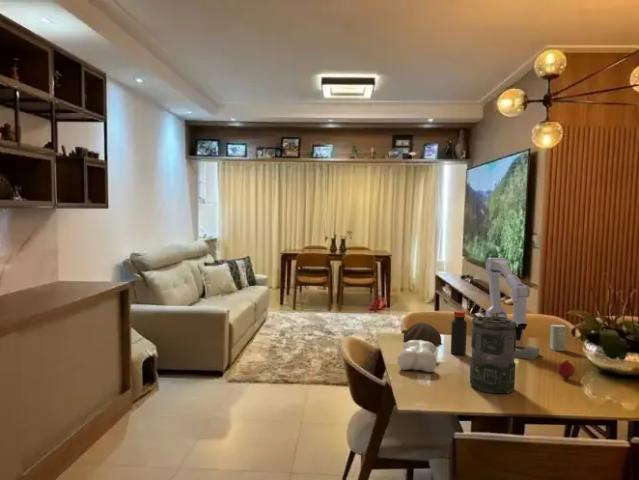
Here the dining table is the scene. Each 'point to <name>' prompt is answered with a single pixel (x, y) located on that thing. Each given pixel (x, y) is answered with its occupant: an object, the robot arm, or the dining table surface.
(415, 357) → the torso sculpture
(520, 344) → the rust peg
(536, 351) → the grey flat block
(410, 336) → the decorative dome
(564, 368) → the onion
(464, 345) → the bottle
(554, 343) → the skincare box
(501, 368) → the canister
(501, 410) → the dining table surface
